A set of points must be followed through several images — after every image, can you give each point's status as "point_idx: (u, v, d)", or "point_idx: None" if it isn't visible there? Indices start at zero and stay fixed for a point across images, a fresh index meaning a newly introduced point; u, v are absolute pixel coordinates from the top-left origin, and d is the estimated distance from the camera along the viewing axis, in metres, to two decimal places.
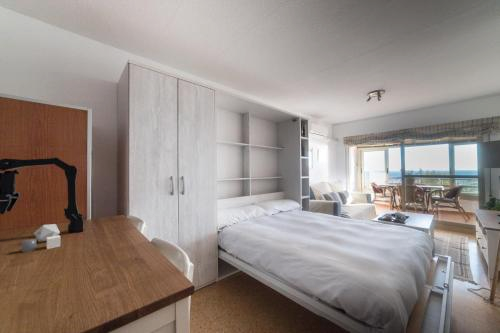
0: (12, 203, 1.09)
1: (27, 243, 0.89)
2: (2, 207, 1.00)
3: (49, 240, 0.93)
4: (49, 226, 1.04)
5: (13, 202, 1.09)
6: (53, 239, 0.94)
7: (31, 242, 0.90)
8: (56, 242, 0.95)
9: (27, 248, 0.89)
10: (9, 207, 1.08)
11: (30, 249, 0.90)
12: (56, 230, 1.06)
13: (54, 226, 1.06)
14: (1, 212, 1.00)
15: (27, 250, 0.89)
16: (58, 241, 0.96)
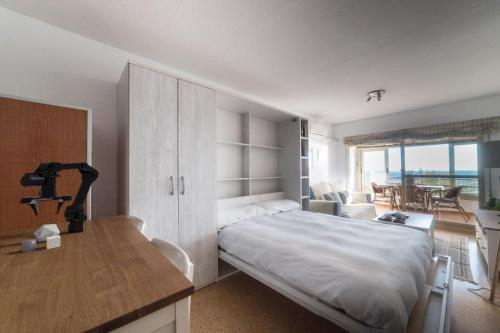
0: (57, 207, 1.07)
1: (27, 243, 0.89)
2: None
3: (49, 240, 0.93)
4: (49, 226, 1.04)
5: None
6: (53, 239, 0.94)
7: (31, 242, 0.90)
8: (56, 242, 0.95)
9: (27, 248, 0.89)
10: (57, 210, 1.07)
11: (30, 249, 0.90)
12: (56, 230, 1.06)
13: (54, 226, 1.06)
14: None
15: (27, 250, 0.89)
16: (58, 241, 0.96)
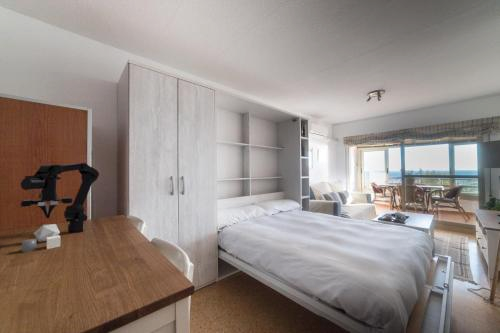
0: None
1: (27, 243, 0.89)
2: None
3: (49, 240, 0.93)
4: (49, 226, 1.04)
5: None
6: (53, 239, 0.94)
7: (31, 242, 0.90)
8: (56, 242, 0.95)
9: (28, 248, 0.89)
10: None
11: (30, 249, 0.90)
12: (56, 230, 1.06)
13: (54, 226, 1.06)
14: None
15: (27, 250, 0.89)
16: (58, 241, 0.96)
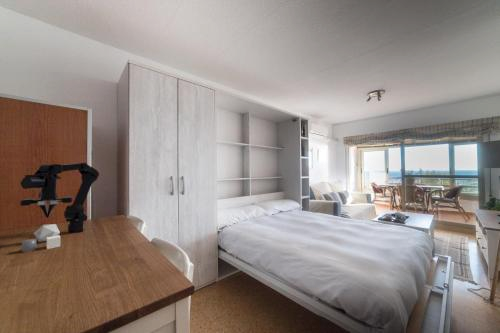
0: None
1: (27, 243, 0.89)
2: None
3: (49, 240, 0.93)
4: (49, 226, 1.04)
5: None
6: (53, 239, 0.94)
7: (31, 242, 0.90)
8: (56, 242, 0.95)
9: (27, 248, 0.89)
10: (47, 213, 1.05)
11: (30, 249, 0.90)
12: (56, 230, 1.06)
13: (54, 226, 1.06)
14: None
15: (27, 250, 0.89)
16: (58, 241, 0.96)
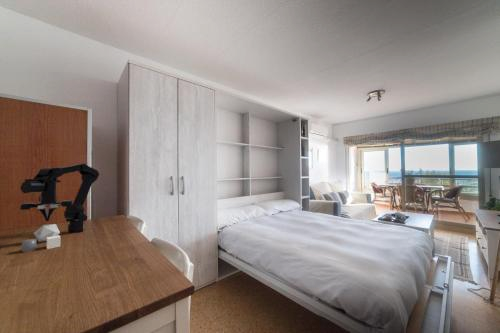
0: None
1: (27, 243, 0.89)
2: None
3: (49, 240, 0.93)
4: (49, 226, 1.04)
5: None
6: (53, 239, 0.94)
7: (31, 242, 0.90)
8: (56, 242, 0.95)
9: (27, 248, 0.89)
10: (47, 217, 1.05)
11: (30, 249, 0.90)
12: (56, 230, 1.06)
13: (54, 226, 1.06)
14: None
15: (27, 250, 0.89)
16: (58, 241, 0.96)
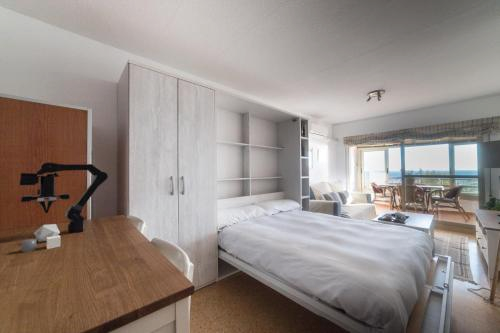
0: None
1: (27, 243, 0.89)
2: None
3: (49, 240, 0.93)
4: (49, 226, 1.04)
5: None
6: (53, 239, 0.94)
7: (31, 242, 0.90)
8: (56, 242, 0.95)
9: (27, 248, 0.89)
10: None
11: (30, 249, 0.90)
12: (56, 230, 1.06)
13: (54, 226, 1.06)
14: (45, 211, 1.11)
15: (27, 250, 0.89)
16: (58, 241, 0.96)
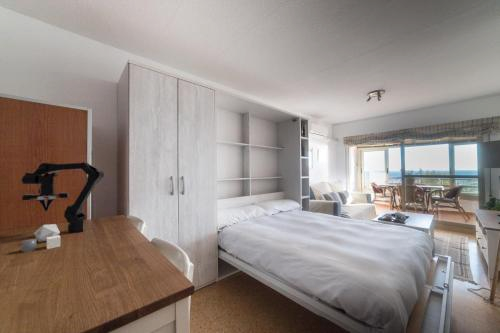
0: (47, 204, 1.17)
1: (27, 243, 0.89)
2: (43, 205, 1.17)
3: (49, 240, 0.93)
4: (49, 226, 1.04)
5: (47, 203, 1.17)
6: (53, 239, 0.94)
7: (31, 242, 0.90)
8: (56, 242, 0.95)
9: (27, 248, 0.89)
10: None
11: (30, 249, 0.90)
12: (56, 230, 1.06)
13: (54, 226, 1.06)
14: None
15: (27, 250, 0.89)
16: (58, 241, 0.96)
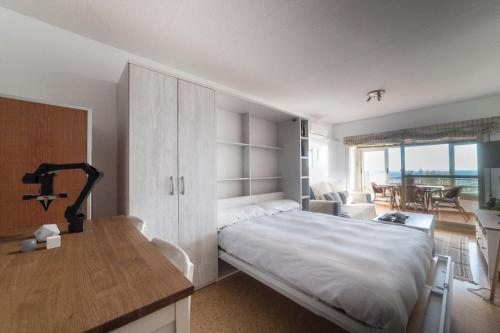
0: (47, 204, 1.17)
1: (27, 243, 0.89)
2: (43, 205, 1.17)
3: (49, 240, 0.93)
4: (49, 226, 1.04)
5: (47, 203, 1.17)
6: (53, 239, 0.94)
7: (31, 242, 0.90)
8: (56, 242, 0.95)
9: (27, 248, 0.89)
10: None
11: (30, 249, 0.90)
12: (56, 230, 1.06)
13: (54, 226, 1.06)
14: None
15: (27, 250, 0.89)
16: (58, 241, 0.96)
